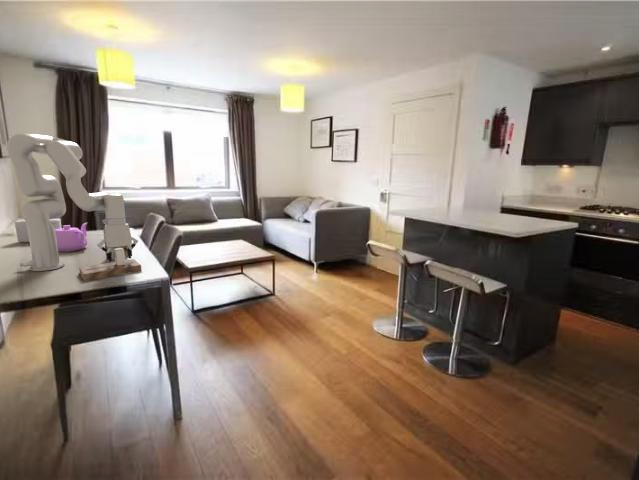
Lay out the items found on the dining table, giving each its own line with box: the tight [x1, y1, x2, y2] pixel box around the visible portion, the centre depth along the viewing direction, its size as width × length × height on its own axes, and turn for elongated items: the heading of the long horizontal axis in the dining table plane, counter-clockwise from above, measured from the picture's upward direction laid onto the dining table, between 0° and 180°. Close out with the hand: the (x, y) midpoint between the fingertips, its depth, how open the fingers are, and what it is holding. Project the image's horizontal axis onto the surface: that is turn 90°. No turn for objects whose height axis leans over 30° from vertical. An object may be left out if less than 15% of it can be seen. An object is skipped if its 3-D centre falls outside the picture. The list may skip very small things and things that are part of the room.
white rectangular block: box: [114, 248, 126, 266], centre depth 152 cm, size 3×4×7 cm
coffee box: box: [102, 228, 128, 261], centre depth 172 cm, size 9×6×16 cm
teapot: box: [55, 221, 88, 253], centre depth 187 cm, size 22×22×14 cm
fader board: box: [78, 258, 142, 282], centre depth 150 cm, size 22×12×3 cm, turn 133°
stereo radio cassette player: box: [14, 218, 63, 243], centre depth 201 cm, size 21×8×20 cm, turn 114°
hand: (120, 259), depth 152 cm, fingers open, 7 cm apart
